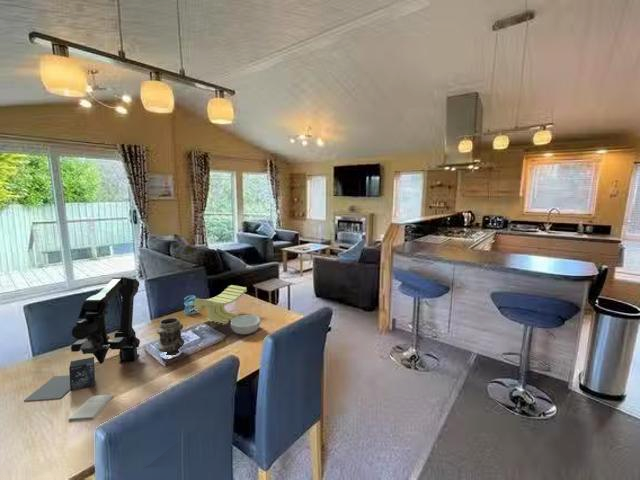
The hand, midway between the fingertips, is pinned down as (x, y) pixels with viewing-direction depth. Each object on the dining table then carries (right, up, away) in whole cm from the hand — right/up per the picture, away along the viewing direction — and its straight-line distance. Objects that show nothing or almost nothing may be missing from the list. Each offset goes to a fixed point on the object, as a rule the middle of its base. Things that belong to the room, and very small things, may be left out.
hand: (101, 363), depth 128 cm
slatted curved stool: (+29, 0, +70) cm, 75 cm away
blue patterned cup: (+4, +2, +79) cm, 79 cm away
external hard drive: (+6, -12, -13) cm, 19 cm away
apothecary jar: (+17, -6, +25) cm, 31 cm away
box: (-8, -10, 0) cm, 12 cm away
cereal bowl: (+48, -3, +51) cm, 70 cm away
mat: (-18, -10, -1) cm, 20 cm away
